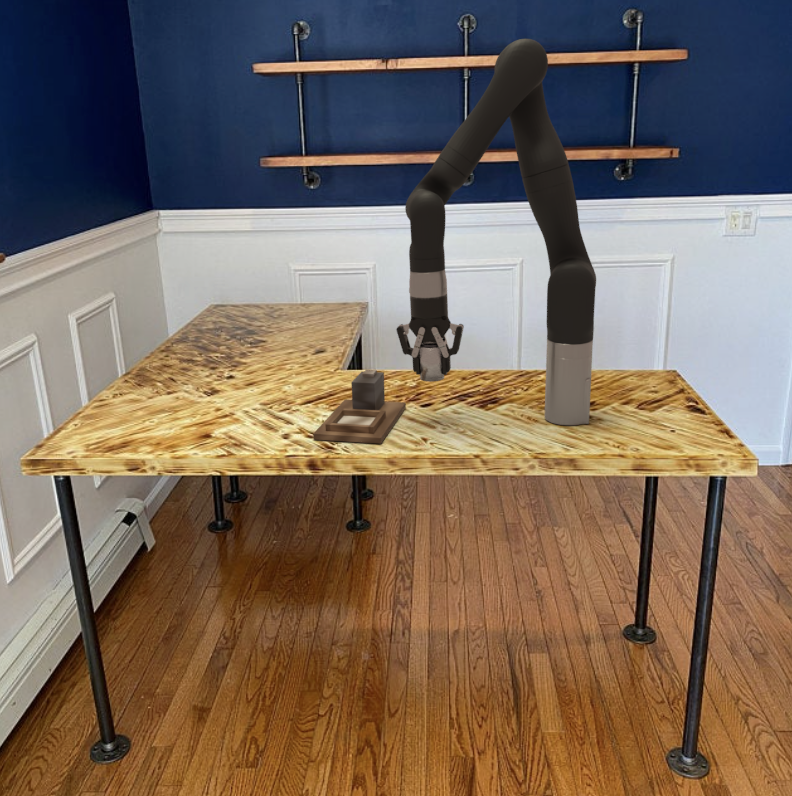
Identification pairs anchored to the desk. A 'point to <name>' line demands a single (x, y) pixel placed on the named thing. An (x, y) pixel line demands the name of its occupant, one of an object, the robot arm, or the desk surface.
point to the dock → (362, 413)
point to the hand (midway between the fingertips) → (431, 373)
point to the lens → (430, 362)
